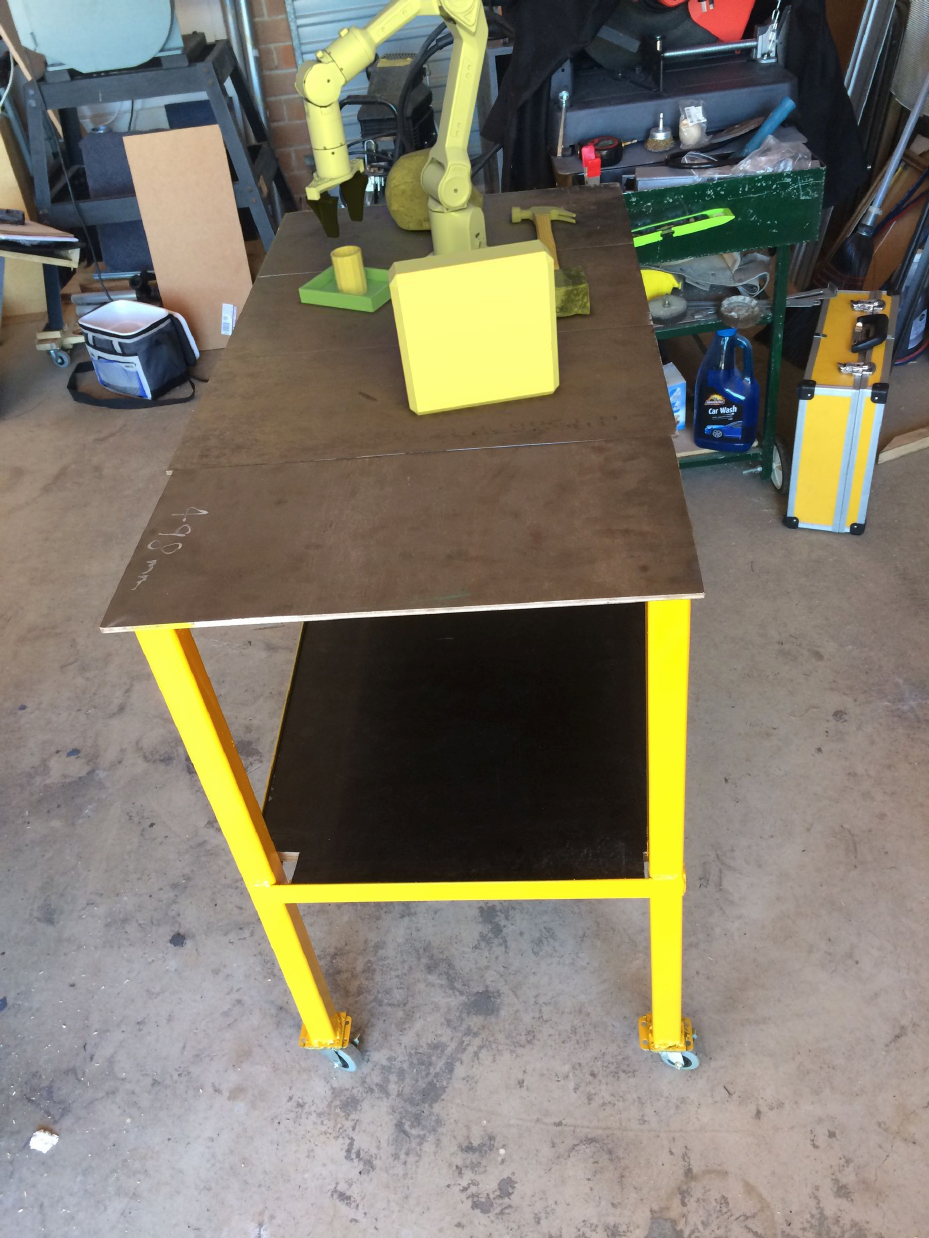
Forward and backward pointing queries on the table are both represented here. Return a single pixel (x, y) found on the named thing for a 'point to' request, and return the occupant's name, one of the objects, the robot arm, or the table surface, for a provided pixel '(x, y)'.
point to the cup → (349, 270)
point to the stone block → (571, 291)
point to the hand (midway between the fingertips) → (345, 228)
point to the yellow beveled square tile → (476, 326)
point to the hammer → (543, 223)
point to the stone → (413, 192)
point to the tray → (326, 293)
